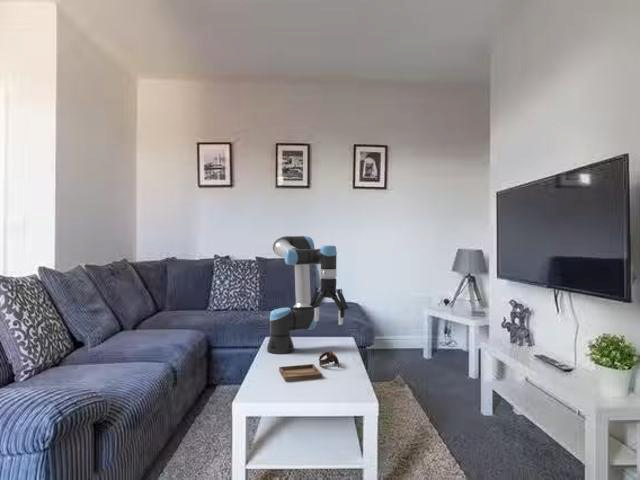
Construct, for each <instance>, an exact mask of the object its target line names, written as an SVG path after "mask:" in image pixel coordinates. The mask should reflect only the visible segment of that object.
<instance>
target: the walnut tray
mask: <svg viewBox="0 0 640 480" xmlns="http://www.w3.org/2000/svg"><path fill="white" fill-rule="evenodd" d="M278 372H279V373H280V375H281V377H282V378H283V380H284V382H285V383H288V382H299V381H308V380H309V381H310V380H319V379H323V374H322V372H321V371H320V370H319V369H318V368H317V367H316V365H315V364H313V363H311V364H299V365H287V366H279V367H278Z"/></svg>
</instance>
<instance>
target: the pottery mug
mask: <svg viewBox="0 0 640 480" xmlns="http://www.w3.org/2000/svg"><path fill="white" fill-rule="evenodd" d="M325 356H326V358H324V357H325ZM318 357H319V358H318V363H319V366H320V367H321V366H325V365H330V363H334V365H337V368H340V361H339V359H338V356H337V354H335V353H333V351H331V350H330V351H325V352H323V353H321V355H319V356H318Z"/></svg>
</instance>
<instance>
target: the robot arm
mask: <svg viewBox="0 0 640 480" xmlns="http://www.w3.org/2000/svg"><path fill="white" fill-rule="evenodd" d="M272 245H273V246H272V250H273V252H274V254H275V255H277V256H278V257H283V258H284V262H285V264H286V265H288V266H294V284H295V287H294V288H295V289H294V290H295V304H294V305H293V308H292V309H291V308H290V307H279V308H275V309H273V310H272V311H270V313H269V339H268V342H267V346H266V352H267V353H269V354H276V355H277V354H278V355H281V354H289V353H292V352H294V351H295V345H294V342H293V339H292V333H291V332H295V331H297V332H298V331H308V330H309V331H310V330H314V329H315V327H316V326H317V322H319V321H320V307H319V305H320V304H321V303H322V301H323V300H324V299H327V298H328V299H331V300H332V301H333V302H334V303H335V306H337V308H338V309H339V310H338V326H342V325H343V324H344V318H345V311H346V310H348V309H349V306H348V303H347V301H346V298H345V296H344V293H343V290H342V288H338V289H337V277H338V276H337V257H338V256H337V255H338V254H337V253H338V252H337V247H336V245H328V244H327V245H321V246H320V248H315V243H314V240H313V239H312V237H310V236H308V235H307V236H306V235H305V236H304V235H300V236H299V235H295V236H294V235H293V236H291V235H289V236H288V235H287V236H281V237H279V238H277V239H276V240H275V241H274V243H273V244H272ZM310 265H320V277H321V278H320V286H317V287H315V289H314V293H313V295H312V298H311V276H310V275H311V274H310V272H311V271H310Z"/></svg>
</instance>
